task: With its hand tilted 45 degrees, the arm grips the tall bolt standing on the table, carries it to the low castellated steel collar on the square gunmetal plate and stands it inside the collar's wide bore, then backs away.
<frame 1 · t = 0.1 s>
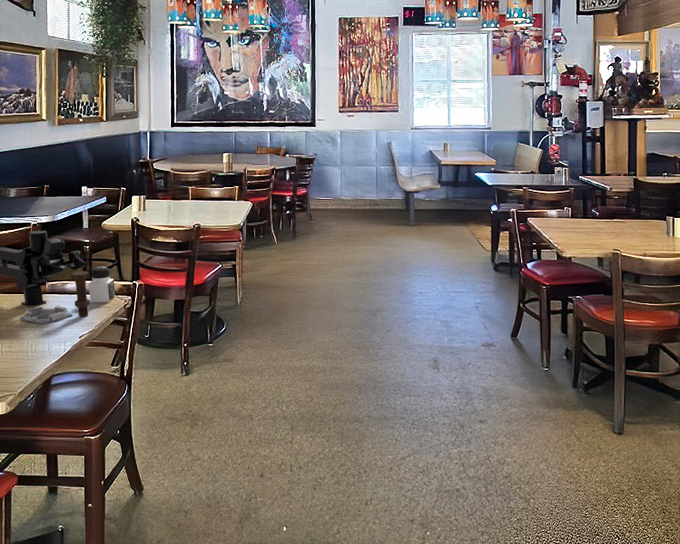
hand: (74, 267, 272), 17 cm above the table, tool horizontal, fingers open, 9 cm apart
bolt: (83, 316, 273), on the table
medicine bottle: (103, 300, 294), on the table
ring collar: (46, 317, 272), on the table
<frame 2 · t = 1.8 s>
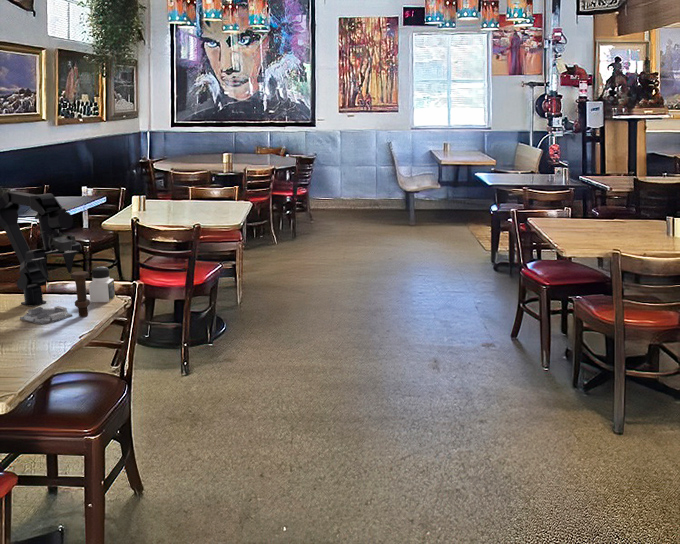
hand: (58, 275, 278), 13 cm above the table, tool pointing down, fingers open, 9 cm apart
nothing on the table moved.
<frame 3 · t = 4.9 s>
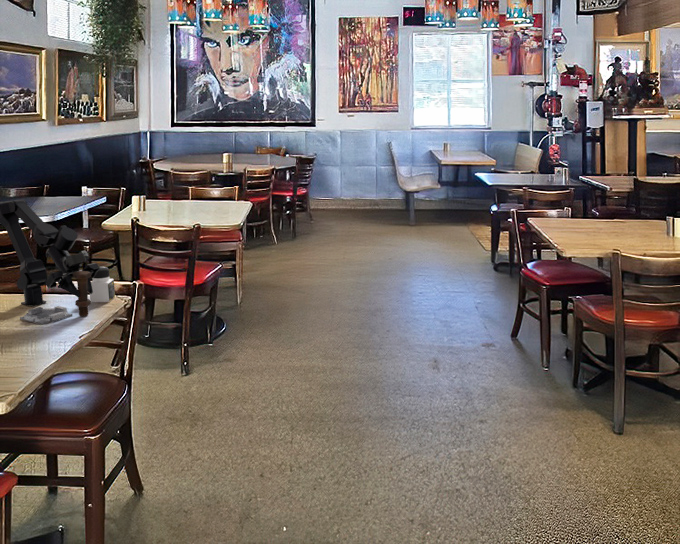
hand: (85, 294, 271), 8 cm above the table, tool tilted 45°, fingers closed on bolt, 5 cm apart
bolt: (83, 316, 273), on the table, touching gripper
everything else where it was.
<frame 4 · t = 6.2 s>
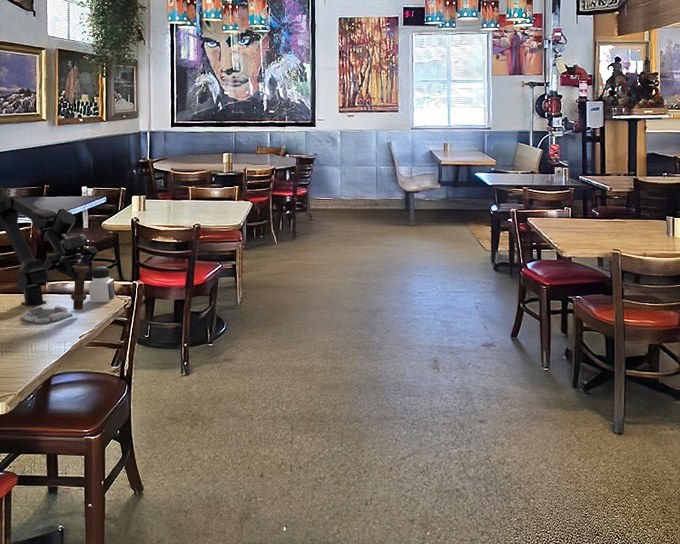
hand: (83, 278, 270), 13 cm above the table, tool tilted 45°, fingers closed on bolt, 5 cm apart
bolt: (78, 309, 273), point 2 cm above the table, touching gripper
everything else where it was.
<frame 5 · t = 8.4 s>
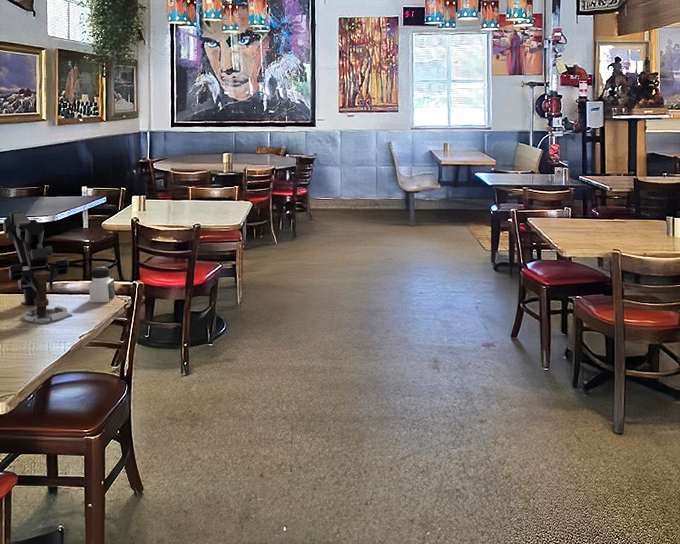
hand: (44, 290, 268), 10 cm above the table, tool tilted 45°, fingers closed on bolt, 4 cm apart
bolt: (41, 315, 273), point 1 cm above the table, touching gripper, ring collar
everything else where it was.
when the fingers open (10 cm above the table, at t = 8.8 s): bolt stays where it is, resting on ring collar.
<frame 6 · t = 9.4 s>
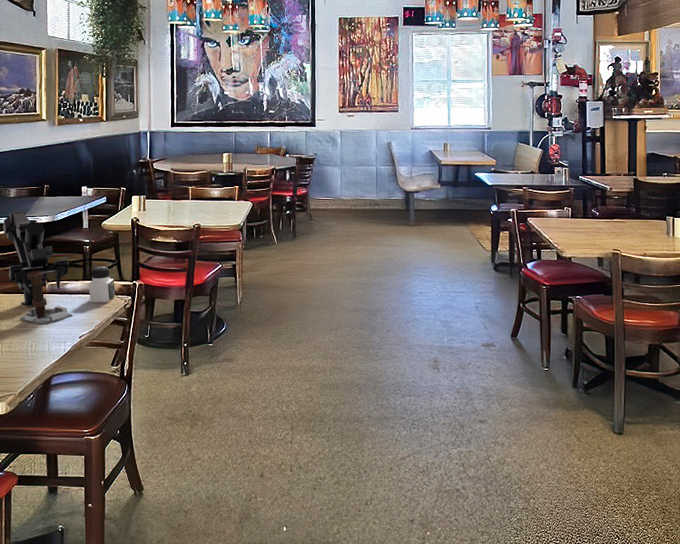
hand: (44, 290, 268), 10 cm above the table, tool tilted 45°, fingers open, 9 cm apart
bolt: (41, 315, 273), point 1 cm above the table, touching gripper, ring collar
everything else where it was.
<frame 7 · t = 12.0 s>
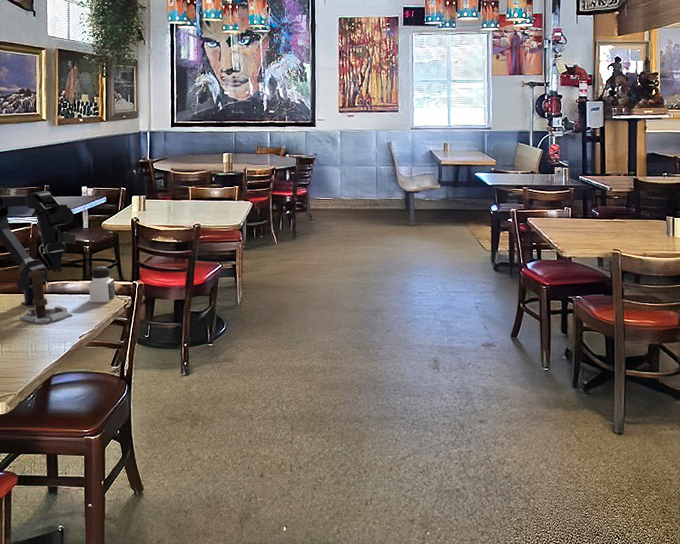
hand: (57, 271, 280), 13 cm above the table, tool pointing down, fingers open, 9 cm apart
bolt: (41, 315, 273), resting on ring collar
everything else where it was.
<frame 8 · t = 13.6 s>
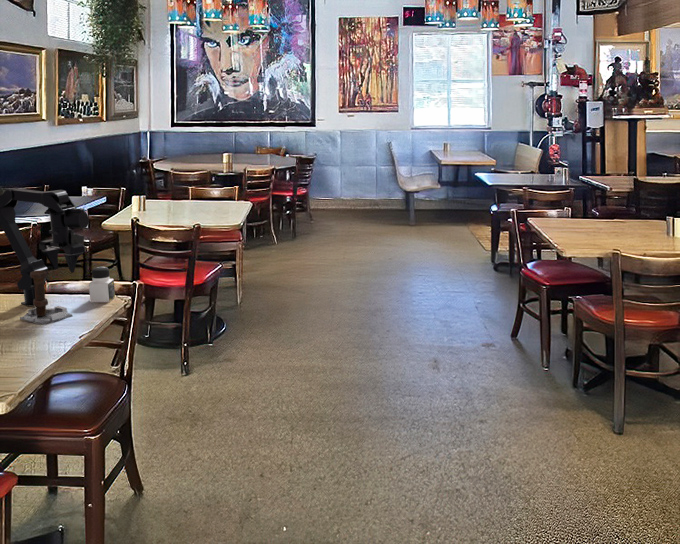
hand: (64, 271, 282), 13 cm above the table, tool pointing down, fingers open, 9 cm apart
at the end: bolt 2.0 cm from the ring collar (horizontally); bolt tilted 2°; the gripper is holding nothing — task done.
